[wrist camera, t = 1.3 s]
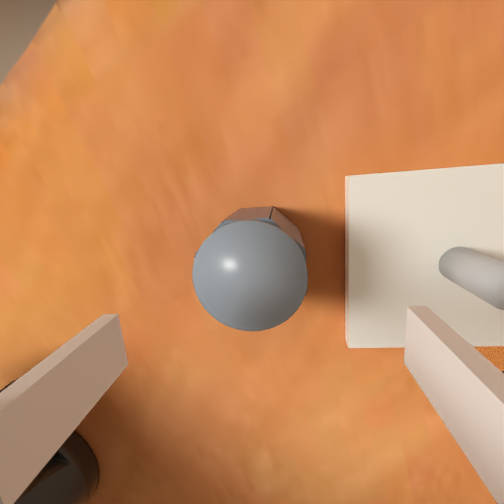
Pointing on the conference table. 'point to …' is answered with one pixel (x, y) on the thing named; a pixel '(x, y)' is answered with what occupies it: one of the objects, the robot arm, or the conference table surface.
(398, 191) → the stud board
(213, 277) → the cap
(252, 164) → the conference table surface
